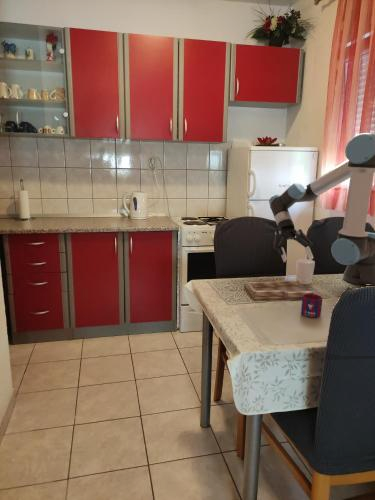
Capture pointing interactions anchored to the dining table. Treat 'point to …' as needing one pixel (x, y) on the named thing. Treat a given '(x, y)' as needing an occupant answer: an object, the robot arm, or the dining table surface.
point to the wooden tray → (276, 290)
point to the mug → (311, 305)
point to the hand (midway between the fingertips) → (298, 260)
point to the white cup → (304, 271)
